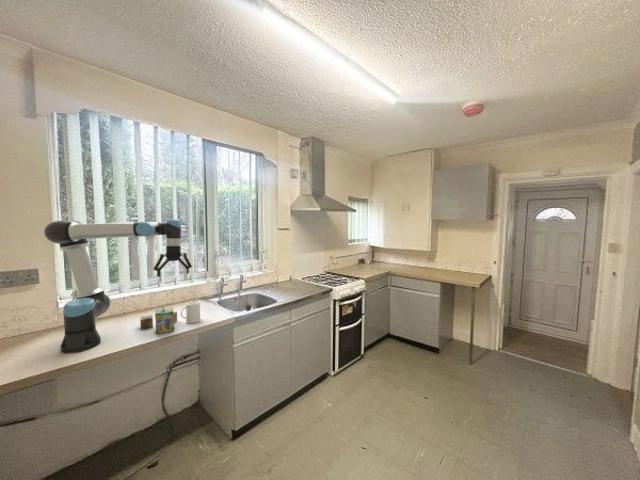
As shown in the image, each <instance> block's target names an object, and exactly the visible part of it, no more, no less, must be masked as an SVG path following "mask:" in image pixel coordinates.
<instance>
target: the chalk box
mask: <svg viewBox="0 0 640 480" xmlns="http://www.w3.org/2000/svg"><path fill="white" fill-rule="evenodd" d="M173 312H174V307H173V308H164V305H162V306H161V309H156V310H155V314H154V316H155V317H154V318H155V334H156V335H159V334H164V333H168V332H174V331H175V323H174V316H173Z"/></svg>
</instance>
